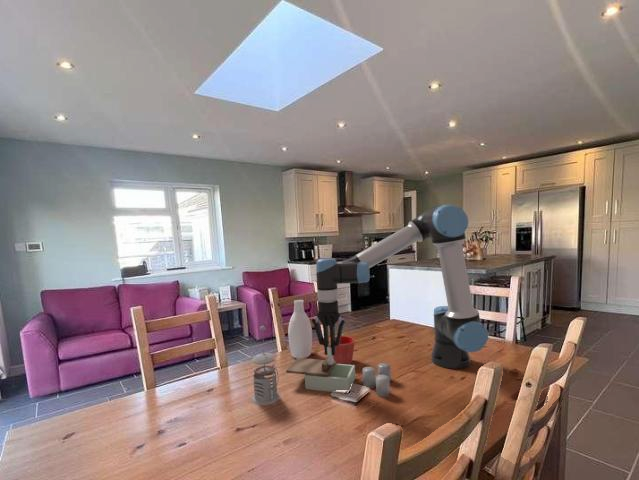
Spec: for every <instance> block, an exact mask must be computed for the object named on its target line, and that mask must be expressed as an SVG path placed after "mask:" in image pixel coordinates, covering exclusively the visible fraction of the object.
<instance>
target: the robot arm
mask: <svg viewBox="0 0 639 480" xmlns="http://www.w3.org/2000/svg"><path fill="white" fill-rule="evenodd" d="M468 227H469V218H468V215H467V213H466V212H465V211H464V209H462V207H459V206H458V205H456V204H443V205H440V206H435V207H431V208H428V209H427V210H425V211H423V212H422V213H421V214H420V215H418V216H416V217H414V219H412V220H410V221H409V222H408V224H407V225H406V226H405V227H403V228H401V229H399V230H398V231H396V232H394V233H393V234H390V235H389V236H386V237H385V238H383V239H381V240H380V241H378V242H376V243H374V244H373V245H371V246H369V247H367V248H366V249H364V250H362V251H360V252H359V253H357V254H355V255H353V256H351V257H350V258H348V259H345V260H342V262H341V263H338V261H337V260H336V258H333V257H332V258H331V257H330V258H319V259H317V261H316V266H315V267H316V269H315V271H316V274H315V275H316V289H317V290H316V291H317V292H316V293H317V300H318V301H317V311H318V312H317V314H316V316H314V317H313V318H312V319H311V322H312V324H313V325H314V328H315V333H316V336H317V341H318V343H319V344H318V345H320V346H321V345H322V346H323V347H324V355H325V356H326V358H327V359H328V365H332V364H333V361H334V359H333V355H335V353H336V351H335V346H338V345H339V343H340V340H341V336H343V330H344V325H345V323H346V322H347V319H346V318H343V317H341V315H340V313H339V301H338V298H339V297H338V296H339V295H338V292H339V291H338V285H341V284H362V283H368V282H369V281H370V279H371V278H370V276H371V274H370V273H371V272H370V268H372V267H374V266H376V265H377V264H379V263H382V262H383V261H384V260H385V261H386V259H389V258H390V257H392V256H395V254H398V253H399V252H401V251H403V250H405V249H406V248H408V247H409V246H411V245H413V244H415V243H417V242H419V243H422V242H423V241H425V240H427V239H431V243H432V245H434V246H435V247H436V248H437V252H438V258H439V263H440V268H441V274H442V279H443V285H444V292H445V297H446V302H447V305H443V306H436V307H435V308H434V309H433V323H434V324H433V327H434V328H433V329H434V344H433V346H432V351H431V353H430V354H431V355H430V357H431V362H432V363H433V364H435V365H436V366H439V367H442V368H445V369H451V370H453V369H455V370H456V369H465V368H468V367H470V365H471V356H470V353H476V352H478V351H480V350H482V349H483V348H484V347H485V345H487V343H488V340H489V331H488V329H487V327H486V326H485V325H484V323H482V322H481V318H480V313H479V310H477V309H476V308H474V304H473V299H472V293H471V287H470V281H469V277H468V271H467V264H466V260H465V259H466V258H465V253H464V246H463V243H464V241H466V233H465V232H466V230H467V229H468ZM337 322H338V324H339V325H338V328H337V334H336V324H337ZM320 323H321V324H322V329H323V331H322V329H321V324H320ZM329 337H330V339H329ZM335 337H337V338H336V341H335ZM330 341H331V344H330Z"/></svg>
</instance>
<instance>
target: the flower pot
mask: <svg viewBox="0 0 639 480" xmlns="http://www.w3.org/2000/svg"><path fill="white" fill-rule="evenodd" d="M336 338H337V336H335V341H336ZM355 343H356V342H355V339H354V337H351V336H347V335H341V340H340V343H339V345H338V346H335V351H336V353H335V355H333V361H336V364H346V365H352V363H353V358H354V357H353V356H354V350H355V349H354V348H355ZM329 345H331V341H330V340H329Z"/></svg>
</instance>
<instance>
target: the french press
mask: <svg viewBox="0 0 639 480" xmlns="http://www.w3.org/2000/svg"><path fill="white" fill-rule="evenodd" d="M259 330H260V331H262V336H264V330H266V327H265V325H260V327H259ZM264 342H265V341H264V340H262V349H263V350H262V351H263V352H262V353H259V354H257V355H255V356H254V357H253V358H252V359H251V361H252V363H253V364H255V365H261V366H259V367H256V368H255V369H254V371H253V372H254V374H253V386H254V387H253V390H254V391H253V393H254V395H253V396H252V397H251V402H252V403H253V404H255V405H257V406H268V405H272V404H274V403H276V402H278V401H279V399H280V398H281V394H280V393H279V392H278V384H279V380H280V379H279V377H277V376H279V372H278V370H277V367H276V366H275V364H272V366H271V365H267V364H271V363H273V362H274V361H275V360H276V359H277V357H276V355H275V354H273V353H270V352H265V345H264ZM266 376H267V377H266ZM269 376H270V377H269ZM271 379H272V380H271Z"/></svg>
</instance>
